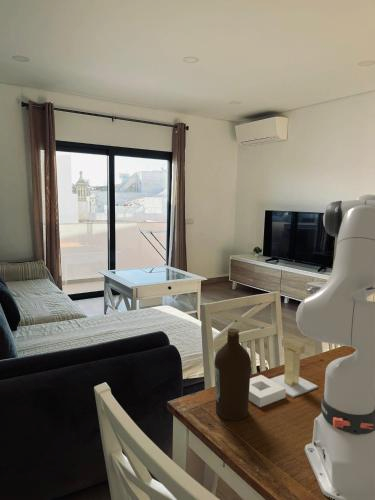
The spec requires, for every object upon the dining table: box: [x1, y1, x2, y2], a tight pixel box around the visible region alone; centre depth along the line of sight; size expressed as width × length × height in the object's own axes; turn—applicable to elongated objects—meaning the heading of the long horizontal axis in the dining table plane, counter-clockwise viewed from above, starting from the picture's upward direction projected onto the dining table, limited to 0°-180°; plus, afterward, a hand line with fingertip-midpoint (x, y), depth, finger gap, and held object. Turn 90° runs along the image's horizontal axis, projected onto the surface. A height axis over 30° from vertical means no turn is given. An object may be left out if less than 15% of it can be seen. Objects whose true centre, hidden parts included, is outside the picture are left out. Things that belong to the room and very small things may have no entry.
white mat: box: [269, 374, 319, 398], centre depth 123 cm, size 12×12×1 cm
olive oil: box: [213, 327, 252, 421], centre depth 105 cm, size 11×11×25 cm
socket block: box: [248, 374, 287, 408], centre depth 116 cm, size 11×11×3 cm
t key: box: [281, 337, 306, 386], centre depth 122 cm, size 8×3×14 cm, turn 32°
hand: (318, 294), depth 125 cm, fingers open, 8 cm apart
